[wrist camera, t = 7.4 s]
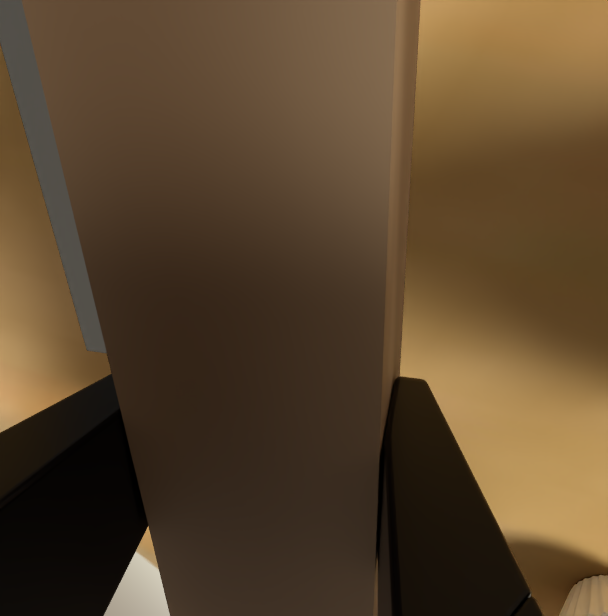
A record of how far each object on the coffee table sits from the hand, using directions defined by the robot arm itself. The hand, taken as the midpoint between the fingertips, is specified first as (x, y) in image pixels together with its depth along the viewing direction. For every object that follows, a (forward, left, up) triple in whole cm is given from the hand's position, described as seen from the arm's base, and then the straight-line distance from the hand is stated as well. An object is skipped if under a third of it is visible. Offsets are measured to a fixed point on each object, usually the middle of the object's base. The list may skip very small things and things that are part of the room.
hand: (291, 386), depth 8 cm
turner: (0, +3, -1) cm, 3 cm away
